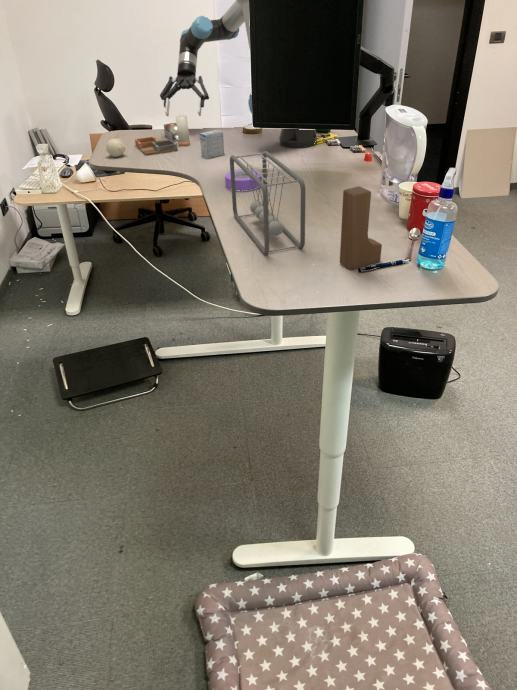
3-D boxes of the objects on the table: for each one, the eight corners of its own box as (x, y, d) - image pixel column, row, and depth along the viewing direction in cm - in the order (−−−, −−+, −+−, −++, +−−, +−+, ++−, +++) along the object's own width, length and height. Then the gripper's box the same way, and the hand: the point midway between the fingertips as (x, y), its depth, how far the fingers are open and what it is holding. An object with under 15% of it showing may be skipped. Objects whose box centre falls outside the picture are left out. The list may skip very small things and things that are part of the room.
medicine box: (218, 152, 212) (216, 129, 207) (224, 155, 209) (223, 131, 204) (201, 156, 208) (199, 133, 203) (207, 159, 205) (205, 135, 200)
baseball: (123, 159, 210) (120, 141, 206) (105, 159, 211) (102, 141, 207) (129, 154, 215) (126, 136, 211) (111, 154, 216) (108, 136, 212)
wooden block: (369, 254, 133) (375, 181, 123) (380, 261, 130) (388, 187, 119) (338, 263, 129) (342, 189, 119) (350, 270, 126) (355, 195, 116)
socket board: (177, 150, 216) (176, 144, 215) (145, 155, 212) (144, 148, 211) (166, 141, 229) (165, 134, 228) (135, 145, 225) (134, 139, 224)
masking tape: (255, 178, 185) (254, 167, 183) (265, 189, 176) (265, 177, 174) (221, 183, 182) (220, 171, 180) (231, 194, 173) (230, 182, 171)
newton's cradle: (232, 216, 157) (228, 153, 147) (267, 210, 160) (265, 148, 149) (265, 258, 134) (263, 187, 123) (305, 251, 136) (306, 180, 126)
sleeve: (191, 145, 222) (188, 117, 216) (180, 147, 221) (177, 118, 214) (188, 143, 226) (185, 114, 219) (177, 144, 224) (173, 116, 218)
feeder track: (186, 140, 229) (185, 126, 226) (172, 142, 227) (170, 128, 224) (179, 134, 238) (177, 121, 235) (165, 136, 236) (163, 123, 233)
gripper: (218, 72, 228) (214, 119, 225) (160, 74, 231) (156, 119, 227) (214, 60, 221) (211, 108, 217) (155, 62, 224) (150, 109, 220)
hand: (182, 114), depth 222 cm, fingers open, 13 cm apart
